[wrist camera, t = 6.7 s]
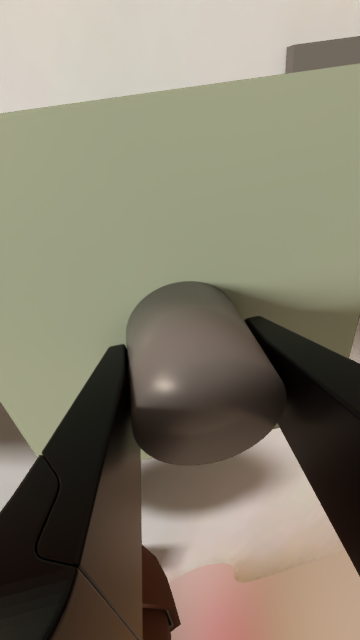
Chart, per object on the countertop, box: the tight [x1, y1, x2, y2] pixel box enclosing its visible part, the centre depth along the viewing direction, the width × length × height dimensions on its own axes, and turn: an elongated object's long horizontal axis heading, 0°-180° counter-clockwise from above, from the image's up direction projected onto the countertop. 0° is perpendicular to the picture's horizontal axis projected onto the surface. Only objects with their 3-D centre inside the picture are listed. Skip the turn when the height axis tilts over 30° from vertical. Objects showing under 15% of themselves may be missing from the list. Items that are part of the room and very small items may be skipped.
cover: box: [0, 63, 360, 465], centre depth 8 cm, size 11×11×4 cm
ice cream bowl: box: [142, 545, 181, 640], centre depth 19 cm, size 11×11×15 cm
